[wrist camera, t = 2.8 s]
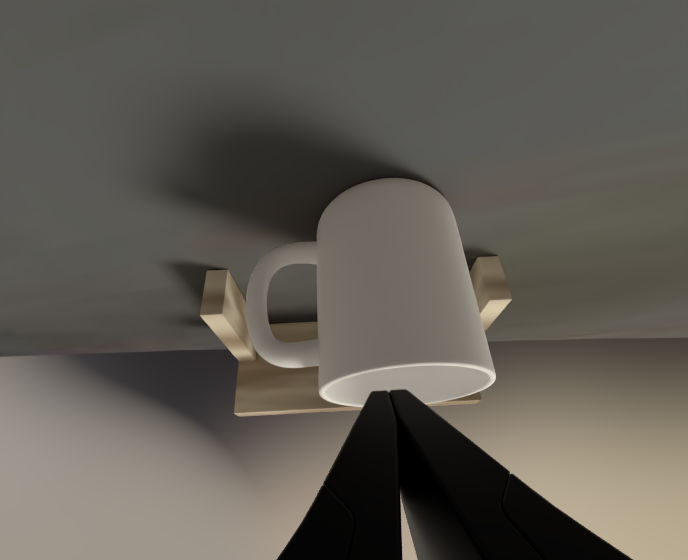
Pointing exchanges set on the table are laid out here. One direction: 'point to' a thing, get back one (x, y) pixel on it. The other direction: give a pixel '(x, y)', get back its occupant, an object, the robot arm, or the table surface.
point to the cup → (382, 299)
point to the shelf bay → (302, 383)
